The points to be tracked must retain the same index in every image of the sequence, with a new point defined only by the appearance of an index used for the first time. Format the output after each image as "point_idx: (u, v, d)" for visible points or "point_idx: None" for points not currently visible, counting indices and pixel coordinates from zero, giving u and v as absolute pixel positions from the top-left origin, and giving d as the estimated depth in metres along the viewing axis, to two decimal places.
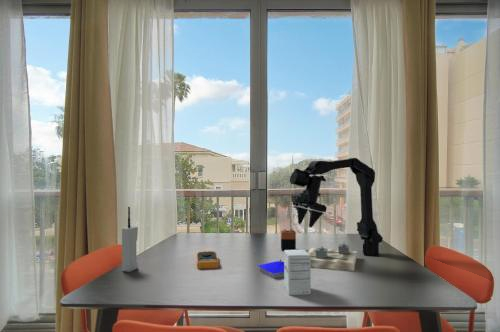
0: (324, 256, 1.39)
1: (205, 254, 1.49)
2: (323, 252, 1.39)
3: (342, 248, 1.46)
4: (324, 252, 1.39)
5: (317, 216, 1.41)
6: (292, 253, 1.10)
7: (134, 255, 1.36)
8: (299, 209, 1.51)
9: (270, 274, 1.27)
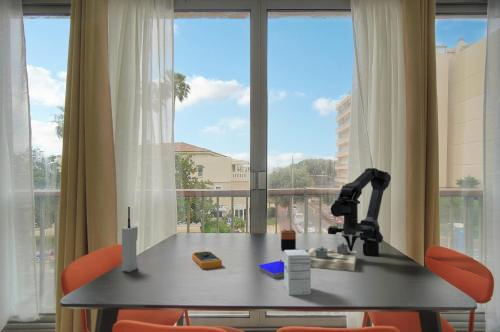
0: (324, 256, 1.39)
1: (202, 254, 1.48)
2: (323, 252, 1.39)
3: (341, 248, 1.47)
4: (324, 252, 1.39)
5: None
6: (292, 253, 1.10)
7: (134, 255, 1.36)
8: (349, 237, 1.47)
9: (270, 274, 1.27)
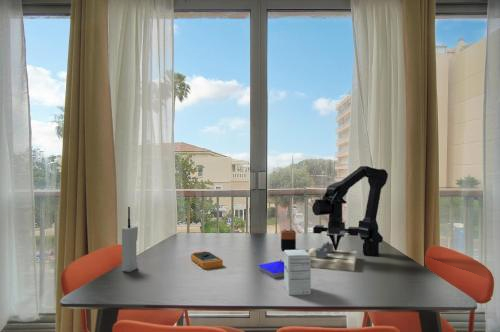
0: (324, 256, 1.39)
1: (202, 254, 1.48)
2: (323, 252, 1.39)
3: (326, 247, 1.49)
4: (324, 252, 1.39)
5: None
6: (292, 253, 1.10)
7: (134, 255, 1.36)
8: (333, 236, 1.49)
9: (270, 274, 1.27)
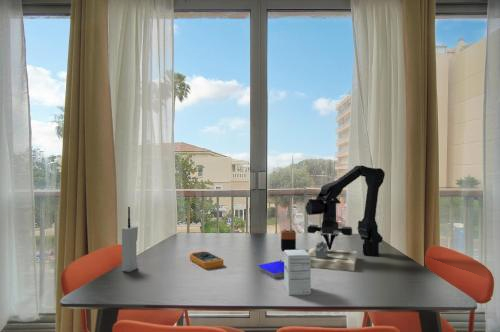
0: (324, 256, 1.39)
1: (201, 255, 1.48)
2: (323, 252, 1.39)
3: (320, 246, 1.50)
4: (324, 252, 1.39)
5: None
6: (292, 253, 1.10)
7: (134, 255, 1.36)
8: (327, 236, 1.50)
9: (270, 274, 1.27)
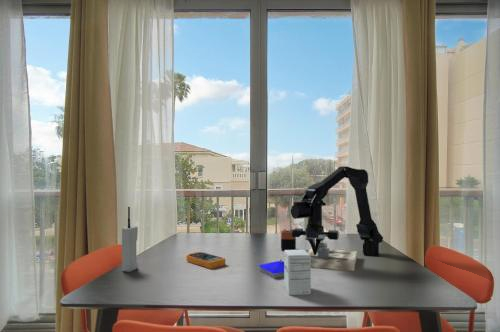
0: (326, 256, 1.39)
1: (199, 255, 1.47)
2: (325, 252, 1.39)
3: (320, 246, 1.50)
4: (326, 252, 1.39)
5: (319, 242, 1.44)
6: (292, 253, 1.10)
7: (134, 255, 1.36)
8: (313, 240, 1.42)
9: (270, 274, 1.27)
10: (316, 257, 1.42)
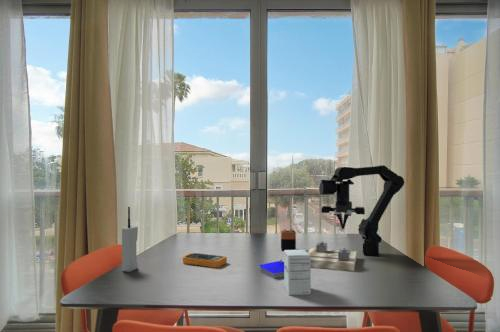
0: (347, 258, 1.36)
1: (196, 256, 1.46)
2: (346, 254, 1.36)
3: (320, 246, 1.50)
4: (347, 254, 1.36)
5: (347, 217, 1.57)
6: (292, 253, 1.10)
7: (134, 255, 1.36)
8: (341, 215, 1.56)
9: (270, 274, 1.27)
10: (316, 257, 1.42)
